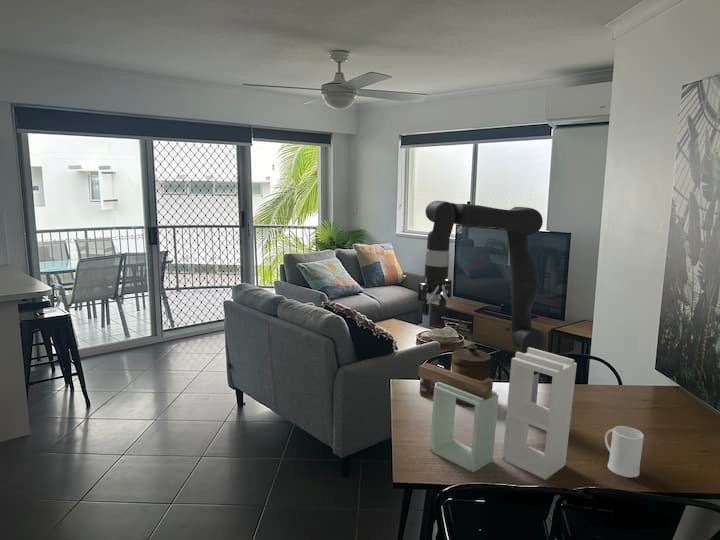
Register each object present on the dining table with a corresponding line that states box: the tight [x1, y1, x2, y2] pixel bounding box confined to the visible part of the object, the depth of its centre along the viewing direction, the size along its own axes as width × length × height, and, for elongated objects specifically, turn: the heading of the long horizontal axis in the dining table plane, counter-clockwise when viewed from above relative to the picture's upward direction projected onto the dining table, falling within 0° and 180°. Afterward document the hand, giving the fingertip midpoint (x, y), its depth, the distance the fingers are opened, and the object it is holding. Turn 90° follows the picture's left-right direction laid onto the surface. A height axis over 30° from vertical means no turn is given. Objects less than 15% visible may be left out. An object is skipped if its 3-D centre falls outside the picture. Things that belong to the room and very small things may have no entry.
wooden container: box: [450, 343, 492, 408], centre depth 199 cm, size 15×15×22 cm
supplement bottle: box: [419, 377, 436, 398], centre depth 203 cm, size 6×6×11 cm
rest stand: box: [429, 382, 499, 473], centre depth 157 cm, size 10×16×22 cm, turn 43°
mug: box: [604, 425, 645, 478], centre depth 155 cm, size 12×8×12 cm
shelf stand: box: [501, 347, 578, 481], centre depth 154 cm, size 12×14×34 cm
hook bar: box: [418, 362, 494, 400], centre depth 158 cm, size 4×24×5 cm, turn 45°
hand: (433, 312), depth 169 cm, fingers open, 8 cm apart
